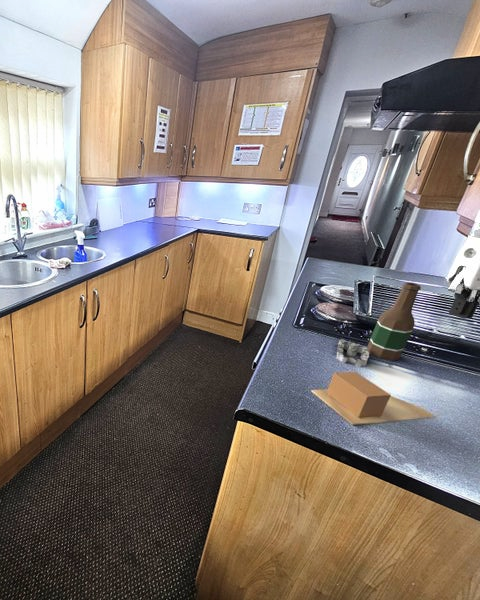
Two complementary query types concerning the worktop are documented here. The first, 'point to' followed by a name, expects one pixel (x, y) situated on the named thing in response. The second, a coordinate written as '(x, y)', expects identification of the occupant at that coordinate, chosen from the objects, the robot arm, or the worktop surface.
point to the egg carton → (352, 353)
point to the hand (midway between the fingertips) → (459, 315)
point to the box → (358, 394)
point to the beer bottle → (394, 326)
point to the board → (391, 413)
